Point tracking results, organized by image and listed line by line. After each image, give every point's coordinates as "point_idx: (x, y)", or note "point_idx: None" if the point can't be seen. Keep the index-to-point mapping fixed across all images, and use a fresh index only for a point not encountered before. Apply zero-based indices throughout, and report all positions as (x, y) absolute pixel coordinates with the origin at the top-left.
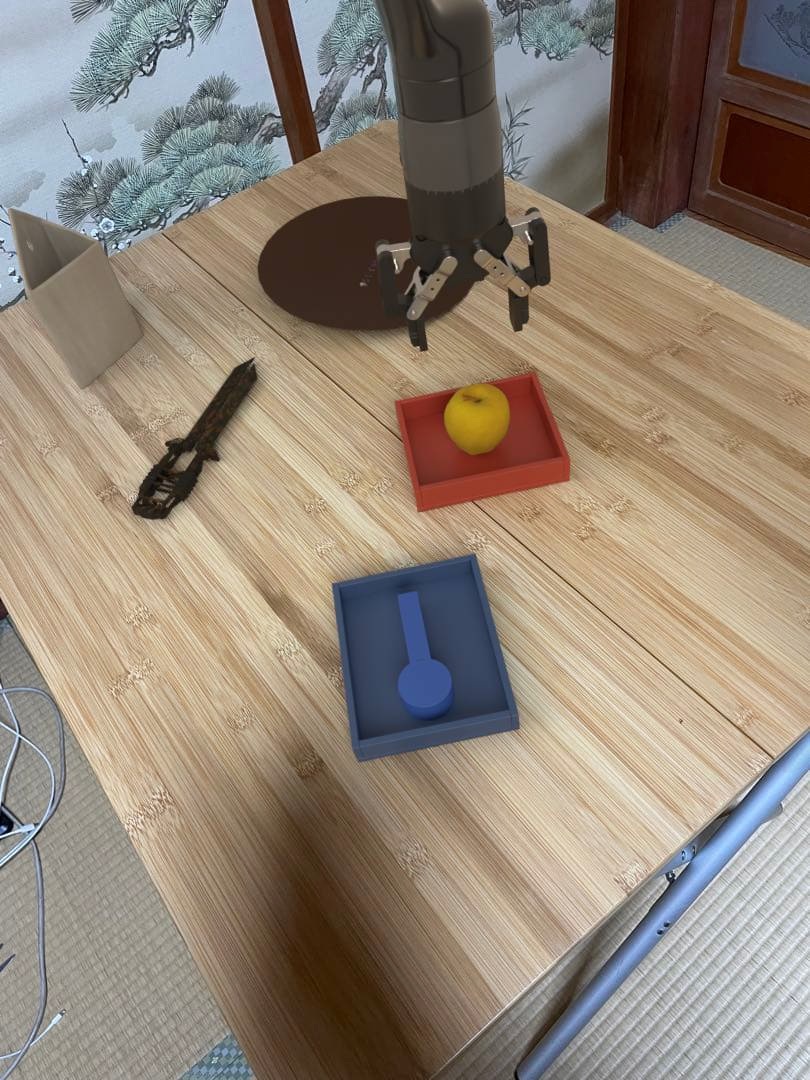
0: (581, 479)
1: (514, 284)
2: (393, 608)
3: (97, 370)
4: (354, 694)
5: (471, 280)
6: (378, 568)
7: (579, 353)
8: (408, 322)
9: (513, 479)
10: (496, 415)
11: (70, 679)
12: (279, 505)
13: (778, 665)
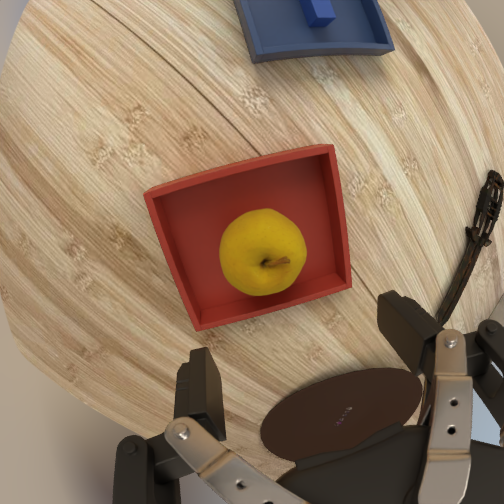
0: (139, 190)
1: (203, 449)
2: (333, 28)
3: (499, 306)
4: None
5: (336, 455)
6: (352, 79)
7: (161, 358)
8: (442, 328)
9: (212, 170)
10: (237, 238)
11: (496, 60)
12: (434, 171)
13: (24, 28)
